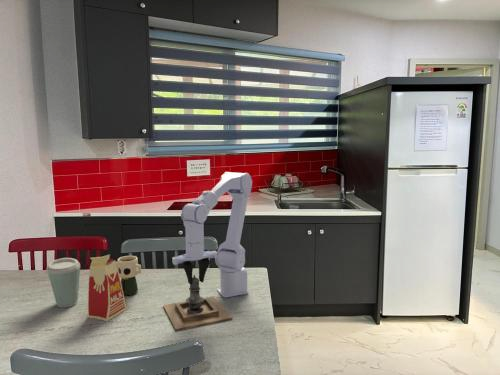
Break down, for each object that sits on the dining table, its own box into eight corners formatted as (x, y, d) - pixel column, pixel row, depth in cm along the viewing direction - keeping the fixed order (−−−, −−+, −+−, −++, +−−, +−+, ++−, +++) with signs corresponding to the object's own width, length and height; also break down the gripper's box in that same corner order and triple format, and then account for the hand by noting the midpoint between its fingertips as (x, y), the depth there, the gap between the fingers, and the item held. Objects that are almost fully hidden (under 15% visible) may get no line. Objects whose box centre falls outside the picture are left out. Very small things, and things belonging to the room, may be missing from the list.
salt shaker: (201, 314, 128) (201, 278, 126) (183, 313, 128) (182, 277, 127) (205, 306, 133) (205, 272, 132) (188, 305, 134) (187, 271, 132)
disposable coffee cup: (88, 303, 138) (85, 261, 136) (56, 314, 130) (53, 269, 128) (75, 295, 145) (72, 255, 143) (43, 304, 137) (40, 262, 135)
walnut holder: (214, 297, 142) (214, 292, 142) (232, 319, 126) (232, 313, 125) (163, 306, 135) (163, 301, 135) (175, 331, 118) (175, 324, 118)
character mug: (110, 294, 145) (108, 260, 143) (122, 287, 152) (120, 254, 150) (136, 298, 142) (134, 263, 140) (147, 290, 148) (146, 257, 146)
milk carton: (126, 309, 133) (123, 251, 130) (108, 321, 125) (104, 259, 122) (104, 305, 136) (100, 248, 133) (84, 317, 128) (80, 256, 125)
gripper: (211, 235, 134) (211, 274, 136) (168, 241, 127) (170, 282, 129) (219, 240, 128) (220, 281, 129) (175, 246, 121) (177, 289, 123)
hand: (195, 282), depth 129 cm, fingers open, 3 cm apart
